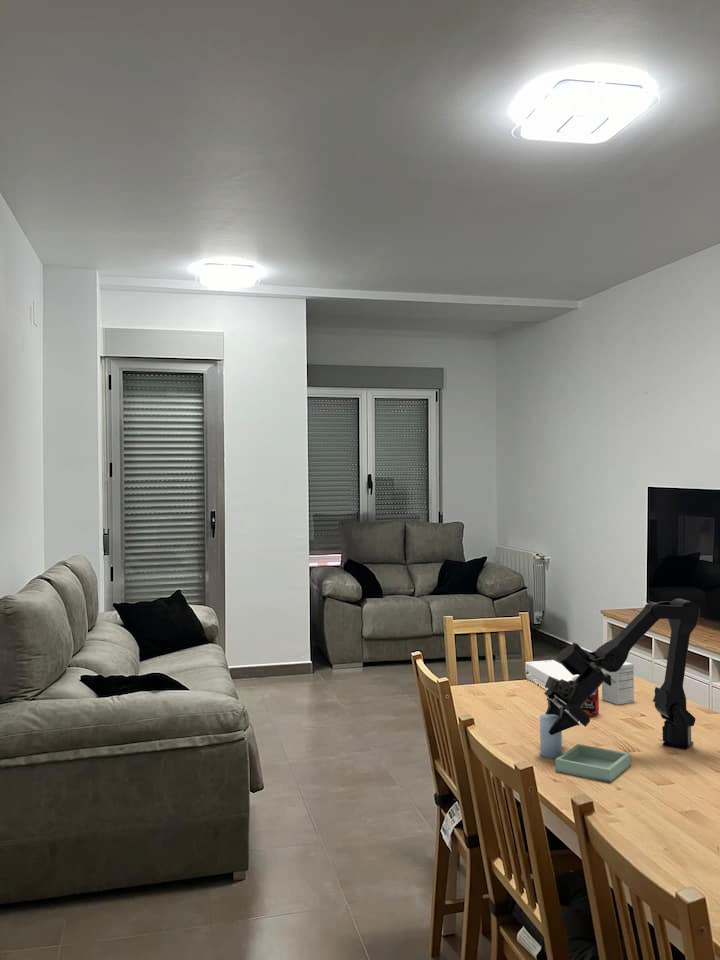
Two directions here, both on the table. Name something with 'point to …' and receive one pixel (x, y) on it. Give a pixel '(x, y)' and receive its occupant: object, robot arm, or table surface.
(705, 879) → the table surface
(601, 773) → the tray
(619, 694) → the supplement box
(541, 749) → the tall pale blue cylinder
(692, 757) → the table surface
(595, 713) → the canned food
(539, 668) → the laminator
